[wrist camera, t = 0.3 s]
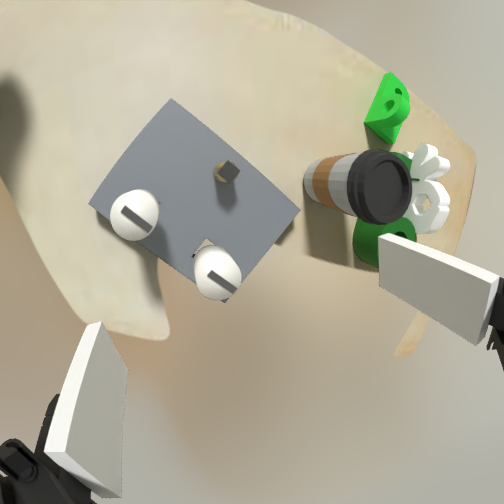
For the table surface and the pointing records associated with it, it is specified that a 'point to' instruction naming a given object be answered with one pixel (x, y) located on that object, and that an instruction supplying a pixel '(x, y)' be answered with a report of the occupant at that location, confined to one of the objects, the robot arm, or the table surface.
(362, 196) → the coffee cup
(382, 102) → the mechanical part
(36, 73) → the table surface
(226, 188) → the plate
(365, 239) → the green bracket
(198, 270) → the knob
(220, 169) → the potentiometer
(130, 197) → the knob
